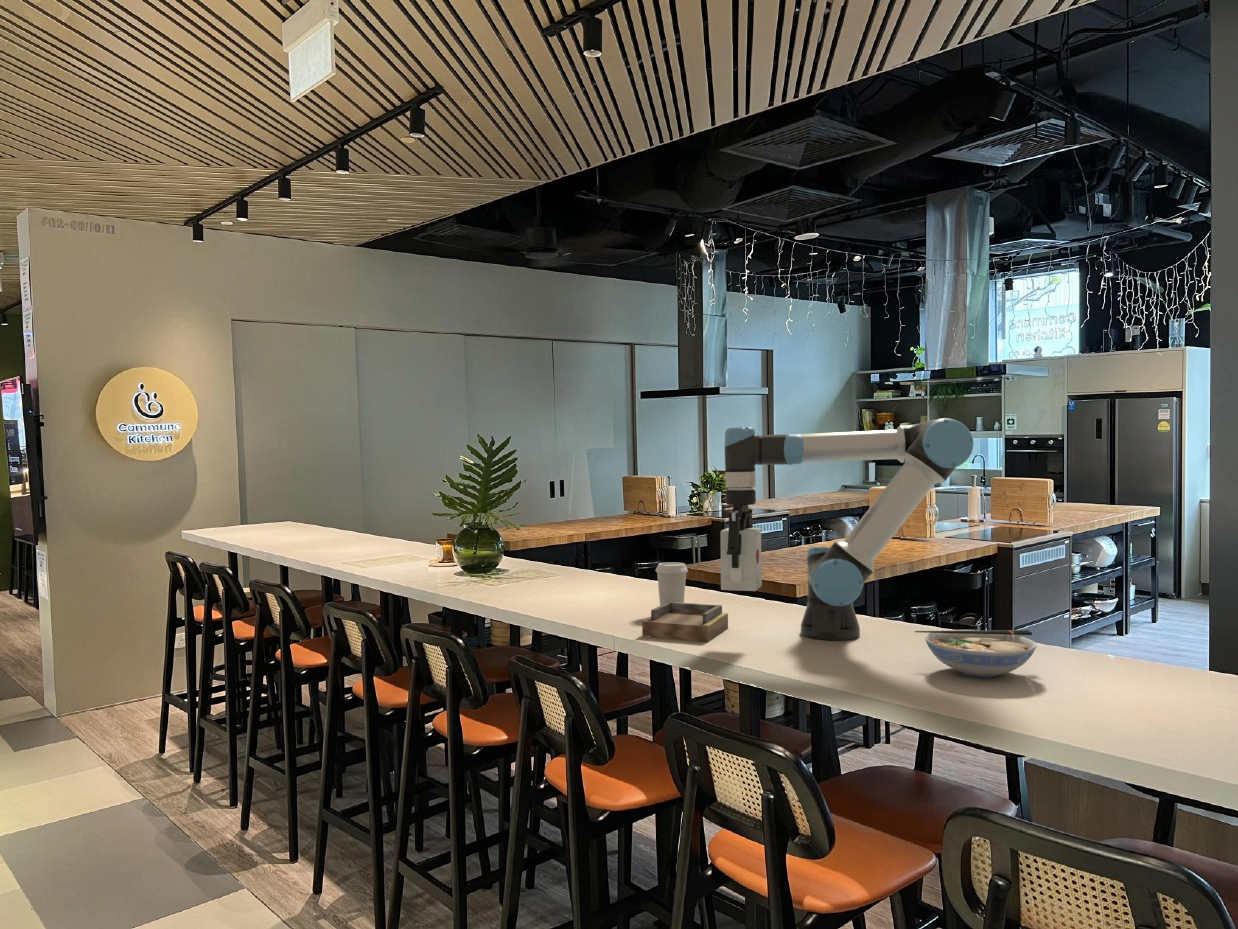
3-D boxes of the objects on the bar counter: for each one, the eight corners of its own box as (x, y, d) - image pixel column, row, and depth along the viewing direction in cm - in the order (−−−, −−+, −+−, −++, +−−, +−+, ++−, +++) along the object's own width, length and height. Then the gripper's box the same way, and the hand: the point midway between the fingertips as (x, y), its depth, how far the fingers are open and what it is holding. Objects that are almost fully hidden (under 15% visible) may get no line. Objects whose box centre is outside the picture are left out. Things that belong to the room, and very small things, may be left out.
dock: (728, 628, 245) (728, 604, 245) (708, 642, 228) (708, 616, 228) (665, 623, 252) (665, 600, 252) (642, 636, 235) (642, 611, 235)
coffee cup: (688, 612, 270) (688, 562, 269) (687, 618, 260) (687, 566, 260) (656, 611, 270) (656, 561, 270) (654, 617, 261) (654, 566, 261)
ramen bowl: (930, 686, 186) (930, 646, 186) (910, 659, 208) (910, 624, 208) (1058, 689, 182) (1058, 649, 182) (1023, 662, 205) (1023, 627, 205)
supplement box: (756, 591, 220) (755, 530, 220) (720, 590, 223) (719, 530, 223) (762, 586, 229) (761, 527, 229) (728, 585, 232) (727, 527, 231)
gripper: (737, 486, 237) (738, 571, 238) (713, 491, 217) (714, 583, 217) (765, 486, 234) (766, 572, 235) (743, 491, 214) (745, 585, 214)
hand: (741, 578), depth 226 cm, fingers closed on supplement box, 9 cm apart
